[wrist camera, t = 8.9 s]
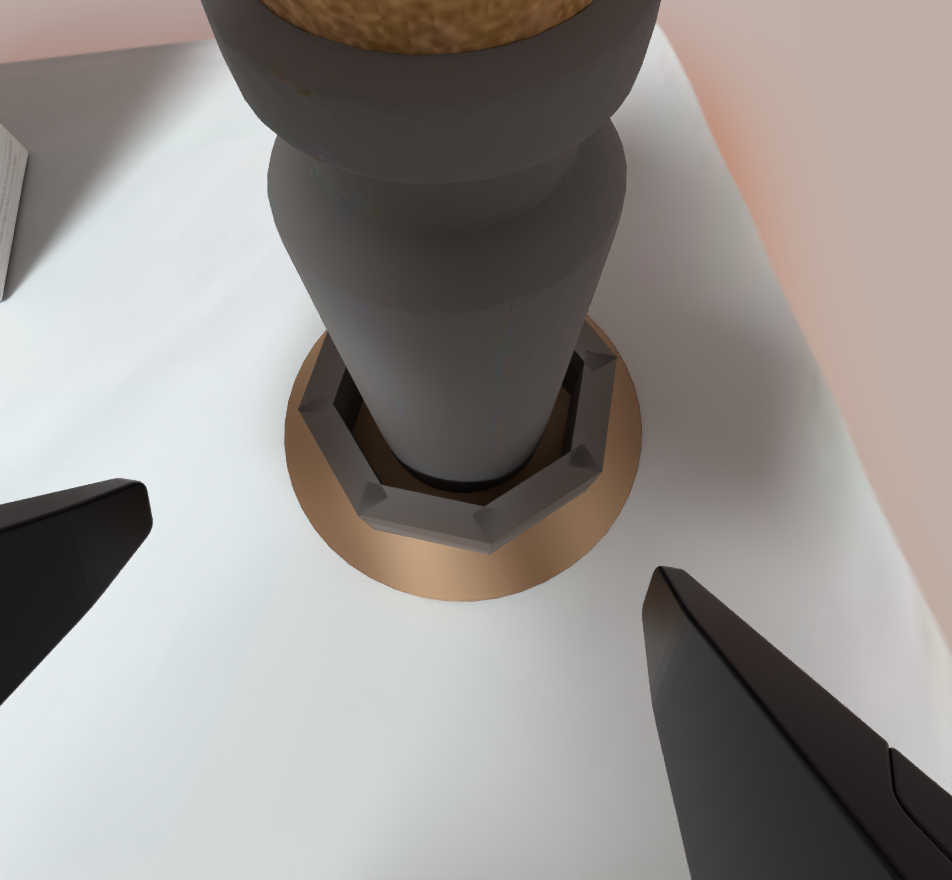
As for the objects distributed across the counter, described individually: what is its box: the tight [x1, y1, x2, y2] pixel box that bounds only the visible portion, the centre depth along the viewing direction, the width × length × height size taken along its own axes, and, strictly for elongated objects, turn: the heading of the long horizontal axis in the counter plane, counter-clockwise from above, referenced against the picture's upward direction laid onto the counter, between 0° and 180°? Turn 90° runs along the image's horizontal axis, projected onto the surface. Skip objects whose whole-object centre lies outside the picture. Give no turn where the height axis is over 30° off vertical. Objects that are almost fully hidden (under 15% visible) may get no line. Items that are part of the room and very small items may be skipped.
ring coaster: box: [284, 315, 642, 602], centre depth 17 cm, size 13×13×3 cm
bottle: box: [201, 0, 661, 493], centre depth 11 cm, size 6×6×15 cm
